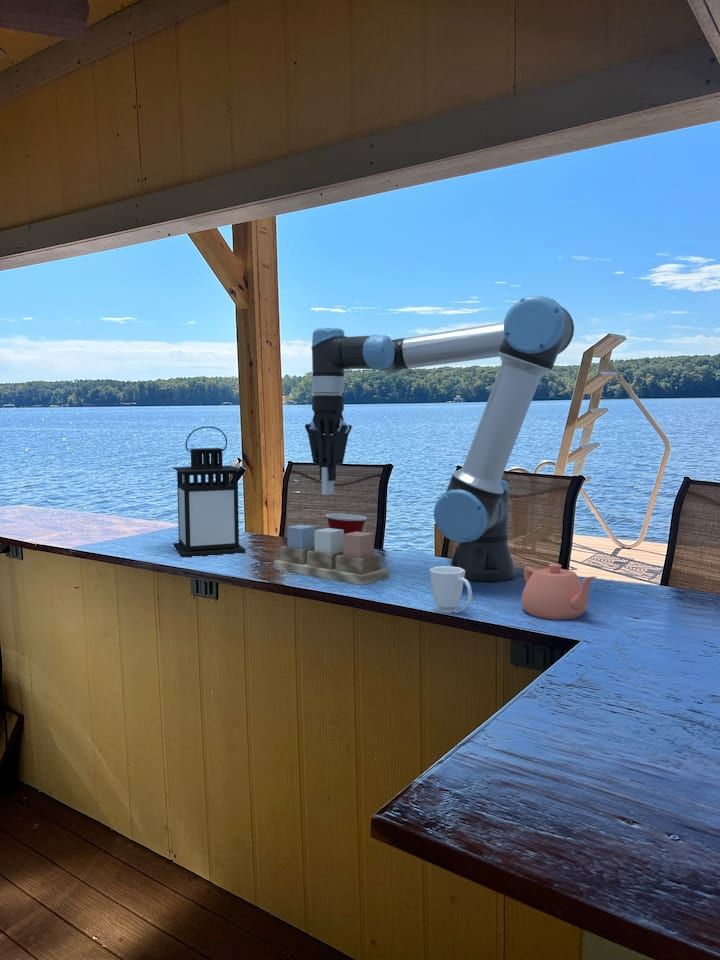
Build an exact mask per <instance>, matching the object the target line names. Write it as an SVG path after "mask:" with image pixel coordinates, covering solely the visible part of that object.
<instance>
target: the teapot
mask: <svg viewBox="0 0 720 960" xmlns="http://www.w3.org/2000/svg"><path fill="white" fill-rule="evenodd" d="M523 576H524V580H525V584H524V585H525V586H524V588H523V589H522V594H521V601H520V602H521V606H522V607H523V609H524V610H525V612H526V613H527V614H529V615H531V616H534V617H536V618H539V619H545V620H553V619H556V620H555V621H557V620H560V619H564V620H572V619H571V618H573V619H576V617H577V618H579V617H581V616H582V615H583V614H584V613H585V612H586V610H587V609H588V607H589V603H588V601H589V598H590V587H591V586H590V585H591V582H592V581H594V579H596V578H597V576H585V577H584V578H583V579H582V581H581V580H580V578H579V576H578V574H577V573H576V572H575V571H573V570H568V569H564V568H562V564H560V563H553V562H552V563H549V564H548V568H539V569H536V568H534V567H532V566H525V567H524V569H523ZM578 616H579V617H578ZM560 621H561V620H560Z"/></svg>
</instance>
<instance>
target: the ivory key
mask: <svg viewBox="0 0 720 960" xmlns="http://www.w3.org/2000/svg"><path fill="white" fill-rule="evenodd" d="M343 534H344V530H341V529H333V528H329V527H327V528H326V527H324V528H321V529H316V530H314V538H315V552H321V553H327V554H333V553H337V552H342V551H343Z"/></svg>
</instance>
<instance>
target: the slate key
mask: <svg viewBox="0 0 720 960" xmlns="http://www.w3.org/2000/svg"><path fill="white" fill-rule="evenodd" d="M286 529H287V530H286V531H287V534H286V535H287V536H286V537H287V539H286V541H287V546H288V548H294V549H301V550H304V549H308V548H313V547H315V538H314V530H317V526H315V525H306V524H297V525H291V526H287V527H286Z"/></svg>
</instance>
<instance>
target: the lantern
mask: <svg viewBox="0 0 720 960" xmlns="http://www.w3.org/2000/svg"><path fill="white" fill-rule="evenodd" d="M207 428H208V429H214V430H215V429H216V430H218V431H219V432H220V433H222V435H223V436H224V437H223V438H224V439H225V446H224V447H223V448H220V447H209V448H208V447H205V448H202V447H201V448H199V447H198V448H188V440H189V439H190V437H191V436H192V434H193V433H195V432H196V431H199V430H201V429H207ZM227 446H228V439H227V436H226V435H225V433H224V432H223V430H221V429H220V428H217V427H215V426H202V427H198V428H196V429H194V430H193V431H191V432H190V433H189V434H188V436H187V437H186V441H185V449H186V451H187V452H189V453H190V466H176V467H175V466H173V467H170V468H171V469H173V470H175V471H176V478H177V479H176V480H177V482H176V483H177V487H176V488H177V518H178V519H177V522H178V524H177V525H178V526H177V527H178V542H173V543H172V546H173V545H174V547H175V548H176V550H177V551H178V553H179V554H180V555H179V554H178V553H177V554H178V555H179V556H180V557H188V558H193V557H192V556H202V557H209V556H208V555H215V556H224V555H223V554H229V555H235V554H234V553H243V554H246V548H245V547H243V546H241V544H240V533H239V532H240V531H239V530H240V528H239V526H240V525H239V521H240V520H239V479H238V477H239V473H238V472H239V471H244V469H243V468H239V467H236V466H234V465H223V452H224V451H225V450H226V448H227ZM190 476H192V477H193V479H192V480H193V482H191V477H190ZM199 476H200V481H199ZM206 476H207V478H206ZM214 476H215V477H214ZM206 479H207V480H206ZM214 479H215V480H214ZM174 547H173V548H174ZM176 550H175V551H176ZM177 551H176V552H177Z"/></svg>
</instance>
